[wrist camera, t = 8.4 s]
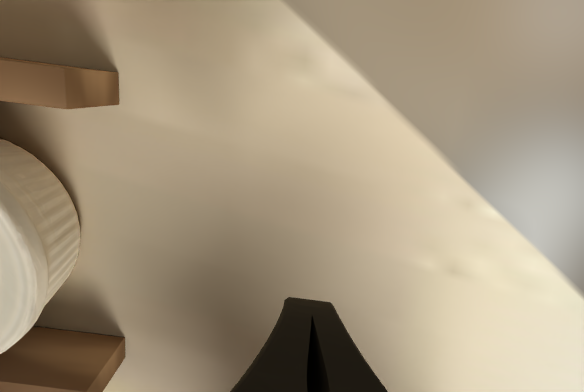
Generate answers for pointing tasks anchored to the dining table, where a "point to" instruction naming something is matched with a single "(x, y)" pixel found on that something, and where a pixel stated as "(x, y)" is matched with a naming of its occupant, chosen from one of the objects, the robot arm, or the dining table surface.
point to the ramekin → (31, 240)
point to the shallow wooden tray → (45, 341)
